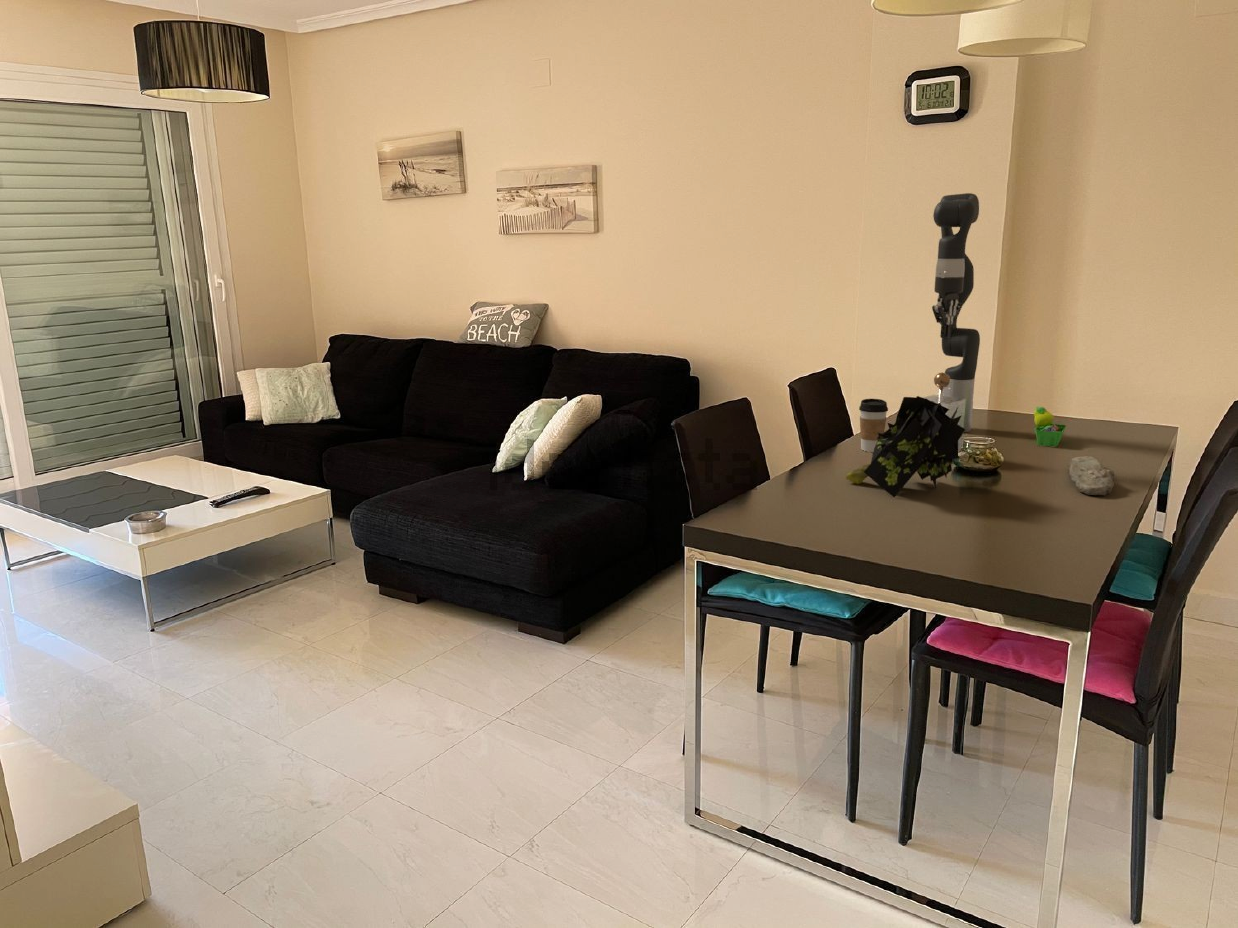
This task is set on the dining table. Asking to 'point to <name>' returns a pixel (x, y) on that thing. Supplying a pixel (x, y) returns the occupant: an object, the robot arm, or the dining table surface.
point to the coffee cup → (872, 422)
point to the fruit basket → (1047, 428)
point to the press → (952, 409)
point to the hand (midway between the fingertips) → (945, 337)
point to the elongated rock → (1090, 476)
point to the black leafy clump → (913, 446)
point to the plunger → (941, 383)
